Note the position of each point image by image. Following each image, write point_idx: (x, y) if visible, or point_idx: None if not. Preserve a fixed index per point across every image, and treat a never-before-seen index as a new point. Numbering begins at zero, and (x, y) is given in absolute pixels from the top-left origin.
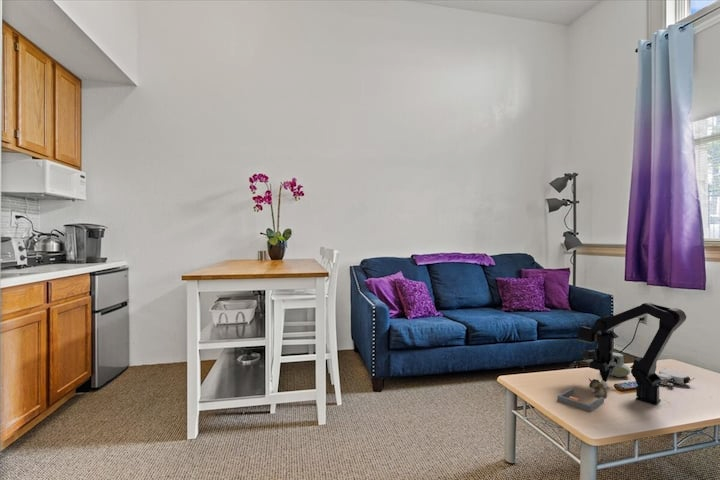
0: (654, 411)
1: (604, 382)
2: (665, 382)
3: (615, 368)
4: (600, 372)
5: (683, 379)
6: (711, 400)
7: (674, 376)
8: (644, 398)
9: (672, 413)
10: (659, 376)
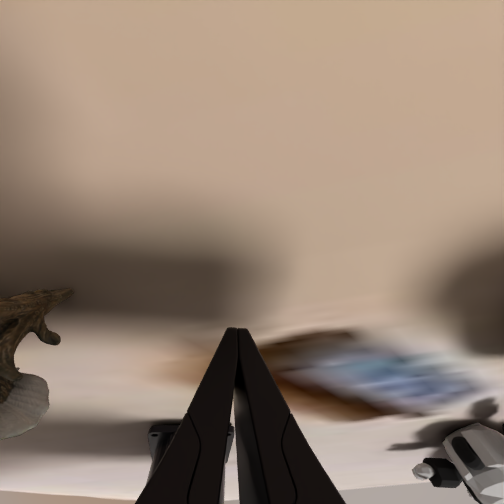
0: (74, 462)
1: (5, 424)
2: (451, 457)
3: None
4: (164, 460)
5: (477, 499)
6: (344, 488)
7: (501, 498)
8: (154, 456)
9: (121, 478)
10: (492, 478)
